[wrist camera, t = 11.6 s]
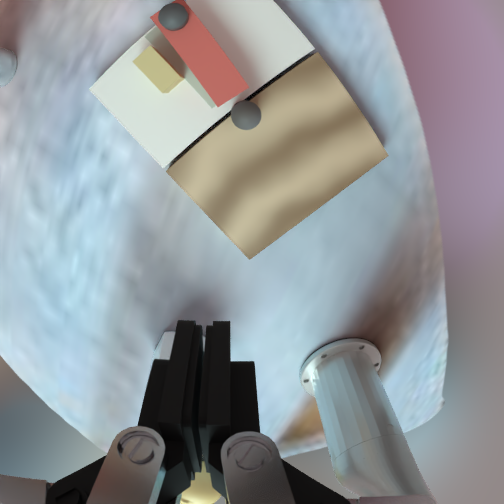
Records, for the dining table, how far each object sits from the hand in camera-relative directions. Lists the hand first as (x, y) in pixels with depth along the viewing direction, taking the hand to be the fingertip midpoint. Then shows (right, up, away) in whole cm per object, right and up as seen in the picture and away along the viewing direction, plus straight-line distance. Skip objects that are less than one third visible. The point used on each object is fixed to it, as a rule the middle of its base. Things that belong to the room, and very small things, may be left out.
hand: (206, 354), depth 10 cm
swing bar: (-3, +21, +14) cm, 25 cm away
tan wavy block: (+4, +13, +21) cm, 25 cm away
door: (-3, +21, +16) cm, 27 cm away
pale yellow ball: (-11, -43, +49) cm, 66 cm away
